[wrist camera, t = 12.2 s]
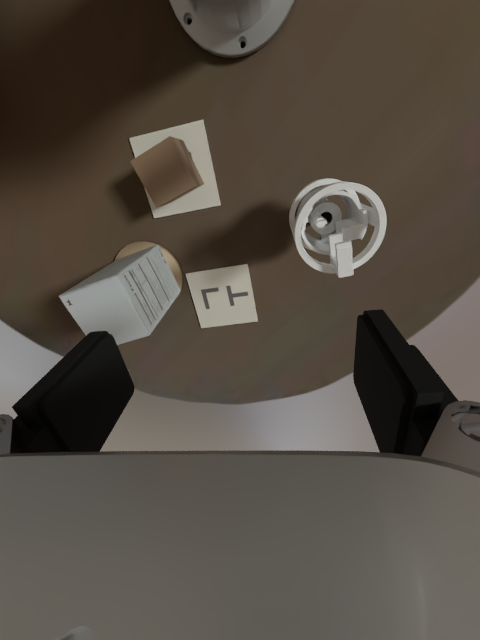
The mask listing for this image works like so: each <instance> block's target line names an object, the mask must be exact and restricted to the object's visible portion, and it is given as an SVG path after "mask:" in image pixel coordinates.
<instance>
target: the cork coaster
mask: <svg viewBox="0 0 480 640" xmlns="http://www.w3.org/2000/svg"><path fill="white" fill-rule="evenodd" d="M155 245H158V244H156V243H152V242H148V241H138V242H134V243H131V244H129V245H127V246H125V247H124V248H123V249H122V250H120V252H119V253H118V254H117V256H116V258H115V260H118V259H121V258H123V257H126V256H128V255H131V254H133V253H136V252H138V251H141V250H144V249H146V248H149V247H152V246H155ZM159 247H160V249H161V251H162V253H163V255H164V257H165V259H166V261H167V263H168V265H169V267H170V269H171V271H172V273H173V275H174V277H175V279H176V281H177V283H178V286H179V288H180V290H181V289H182V285H183V275H182V271H181V268H180V265H179V264H178V262H177V260H176V259H175V257H174V256H173V255H172V254H171V253H170V252H169V251H168V250H166V249H165V248H164V247H162V246H160V245H159ZM179 294H180V293H179ZM179 294H178V295H179ZM177 297H178V296H177ZM177 297H176V298H177Z"/></svg>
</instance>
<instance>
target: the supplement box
mask: <svg viewBox="0 0 480 640" xmlns="http://www.w3.org/2000/svg"><path fill="white" fill-rule="evenodd" d="M180 292H181V290H180V288H179V286H178V283H177V281H176V279H175V277H174V275H173V273H172V271H171V269H170V267H169V265H168V263H167V261H166V259H165V257H164V255H163V253H162V251H161V249H160V247H159V245H155V246H152V247H149V248H146V249H144V250H141V251H138V252H136V253H133V254H131V255H128V256H126V257H123V258H121V259H118V260H115V261H114V262H113V263H111V264H109V265H108V266H106V267H105V268H103V269H101V270H100V271H98V272H96V273H95V274H93V275H92V276H90V277H88V278H87V279H85V280H83V281H82V282H80V283H79V284H77V285H75V286H74V287H72V288H71V289H69V290H67V291H66V292H64V293H63V294H61V295H59V298H60V299H61V301H62V302H63V304H64V305H65V307H66V308H67V310H68V311H69V312H70V314H71V315H72V317H73V318H74V320H75V321H76V322H77V324H78V325H79V327H80V328H81V329H82V331H83V332H84V334H85V335H87V334H89V333H90V332H94V331H107V332H108V333H109V334H112V335H113V337H114V339H115V341H116V344H117V345H119V344H122V343H126V342H129V341H132V340H136V339H139V338H142V337H146V336H149V335H150V334H151V333H152V331H153V330H154V329H155V327H156V326H157V324H158V323H159V321H160V320H161V319H162V317H163V316H164V314H165V313H166V312H167V310H168V309H169V307H170V306H171V305H172V303H173V302H174V300H175V299H176V297H177V296H178V294H179V293H180Z"/></svg>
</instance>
